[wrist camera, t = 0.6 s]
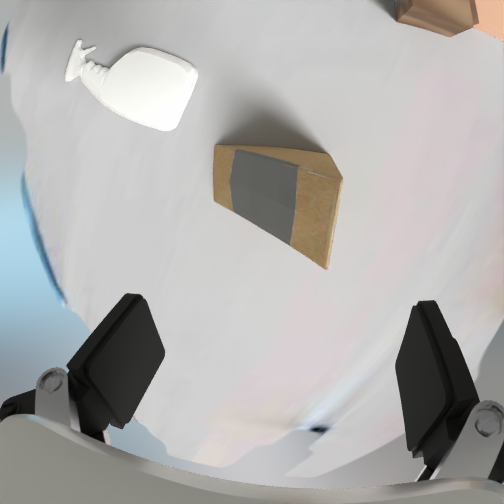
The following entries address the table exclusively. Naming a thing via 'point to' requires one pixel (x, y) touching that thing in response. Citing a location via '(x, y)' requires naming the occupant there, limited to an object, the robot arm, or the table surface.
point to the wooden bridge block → (435, 15)
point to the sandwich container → (282, 193)
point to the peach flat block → (488, 17)
